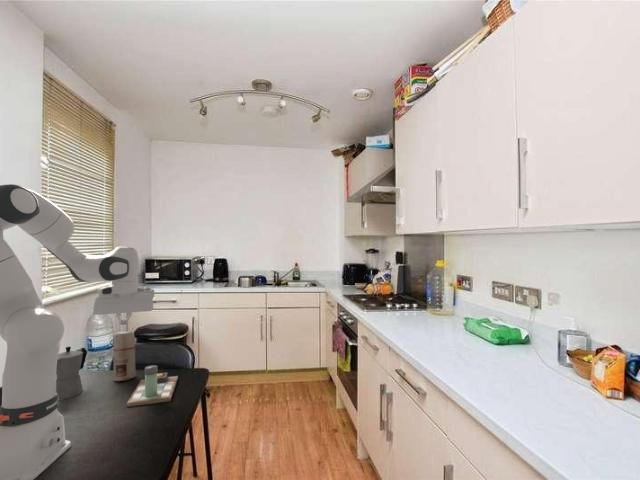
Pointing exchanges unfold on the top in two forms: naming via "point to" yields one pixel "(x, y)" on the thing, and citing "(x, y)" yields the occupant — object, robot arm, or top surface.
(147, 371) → the green capped bottle
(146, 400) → the checkered tray
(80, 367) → the coffeepot
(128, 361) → the tan paper carton
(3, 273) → the robot arm
